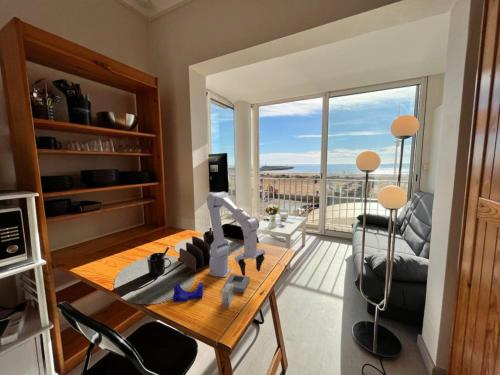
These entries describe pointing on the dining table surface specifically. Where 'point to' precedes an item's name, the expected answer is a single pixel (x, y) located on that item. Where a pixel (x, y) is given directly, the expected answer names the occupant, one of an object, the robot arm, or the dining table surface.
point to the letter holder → (196, 254)
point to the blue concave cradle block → (187, 293)
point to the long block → (227, 295)
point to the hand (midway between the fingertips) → (250, 272)
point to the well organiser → (238, 282)
